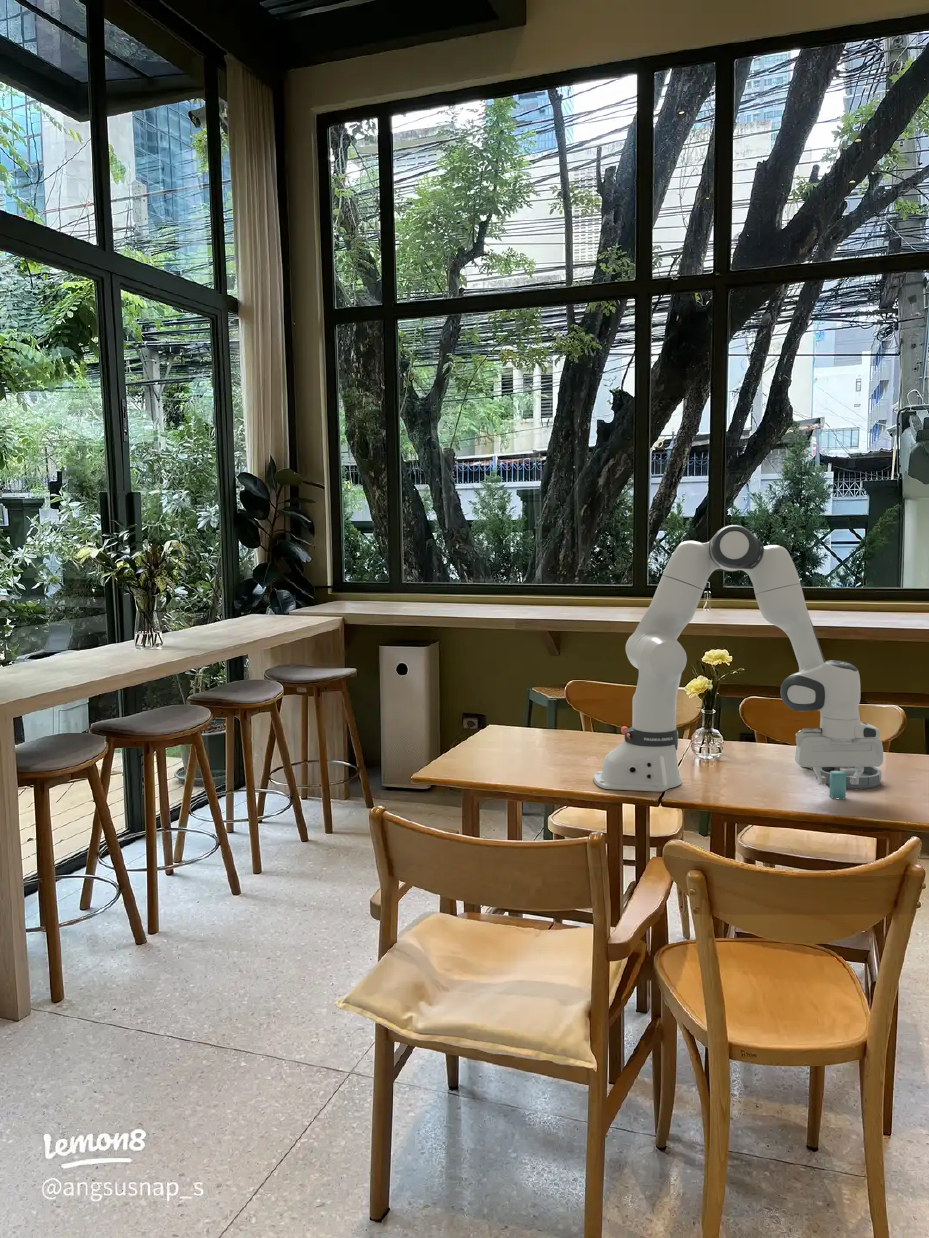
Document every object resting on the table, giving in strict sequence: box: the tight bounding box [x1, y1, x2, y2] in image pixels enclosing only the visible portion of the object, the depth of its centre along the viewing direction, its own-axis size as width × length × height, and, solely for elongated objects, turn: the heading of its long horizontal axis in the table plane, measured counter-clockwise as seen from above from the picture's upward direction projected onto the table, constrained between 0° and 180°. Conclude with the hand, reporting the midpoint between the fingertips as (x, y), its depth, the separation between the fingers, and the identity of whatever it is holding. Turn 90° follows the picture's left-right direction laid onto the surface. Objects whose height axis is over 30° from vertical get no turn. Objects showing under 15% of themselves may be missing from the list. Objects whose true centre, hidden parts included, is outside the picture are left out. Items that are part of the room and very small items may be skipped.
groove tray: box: [816, 767, 882, 790], centre depth 235 cm, size 15×15×3 cm
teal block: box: [829, 771, 847, 800], centre depth 221 cm, size 4×4×6 cm
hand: (837, 783), depth 221 cm, fingers open, 6 cm apart
